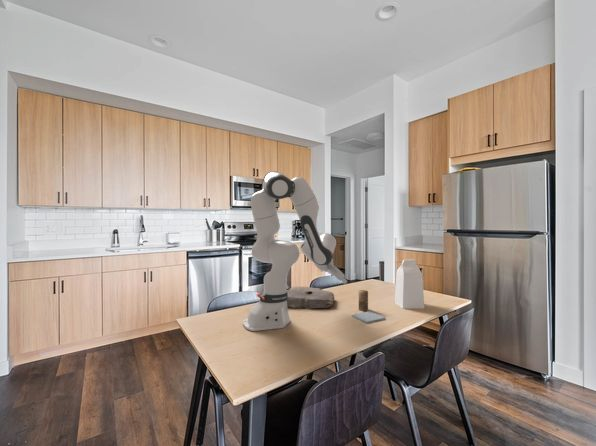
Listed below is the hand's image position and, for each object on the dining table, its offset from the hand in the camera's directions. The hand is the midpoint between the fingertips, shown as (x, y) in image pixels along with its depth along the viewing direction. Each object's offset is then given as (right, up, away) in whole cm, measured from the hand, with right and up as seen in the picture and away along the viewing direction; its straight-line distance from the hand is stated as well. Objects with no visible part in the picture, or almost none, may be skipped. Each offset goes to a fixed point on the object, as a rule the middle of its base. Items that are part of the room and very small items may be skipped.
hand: (342, 280), depth 146 cm
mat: (+11, -17, -9) cm, 22 cm away
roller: (+12, -17, +3) cm, 21 cm away
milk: (+39, -17, +11) cm, 44 cm away
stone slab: (-18, -17, +20) cm, 32 cm away
